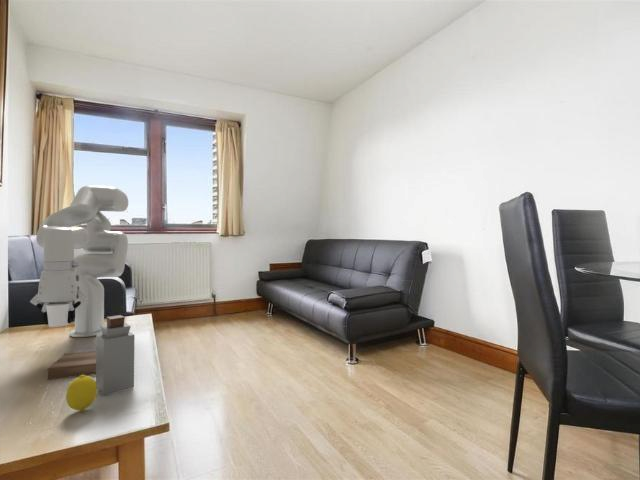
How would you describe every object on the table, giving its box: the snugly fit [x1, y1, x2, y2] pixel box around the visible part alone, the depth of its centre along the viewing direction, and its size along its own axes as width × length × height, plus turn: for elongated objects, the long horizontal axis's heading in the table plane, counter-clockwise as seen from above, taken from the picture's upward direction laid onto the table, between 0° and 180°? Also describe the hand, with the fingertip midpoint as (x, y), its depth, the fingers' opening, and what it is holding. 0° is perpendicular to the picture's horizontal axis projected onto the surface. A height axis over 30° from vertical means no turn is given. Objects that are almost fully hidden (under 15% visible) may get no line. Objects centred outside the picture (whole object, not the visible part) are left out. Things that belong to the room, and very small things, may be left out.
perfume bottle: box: [95, 314, 135, 397], centre depth 85 cm, size 7×7×18 cm
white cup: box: [46, 302, 73, 328], centre depth 106 cm, size 7×7×7 cm
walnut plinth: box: [47, 350, 96, 380], centre depth 97 cm, size 12×12×3 cm
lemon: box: [65, 375, 98, 413], centre depth 73 cm, size 6×6×8 cm
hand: (59, 322), depth 106 cm, fingers closed on white cup, 5 cm apart
